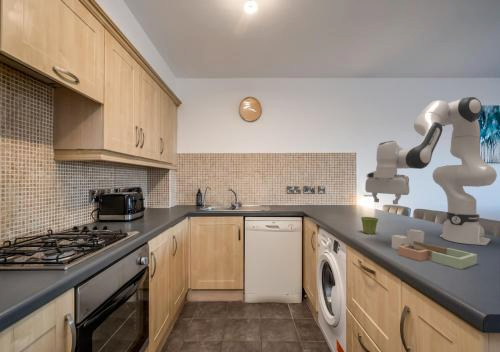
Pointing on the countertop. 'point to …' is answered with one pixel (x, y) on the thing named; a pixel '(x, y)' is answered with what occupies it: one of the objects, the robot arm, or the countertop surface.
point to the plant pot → (369, 224)
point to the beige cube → (415, 236)
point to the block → (399, 240)
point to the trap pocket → (412, 253)
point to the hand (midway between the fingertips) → (385, 203)
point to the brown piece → (428, 248)
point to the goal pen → (455, 258)
